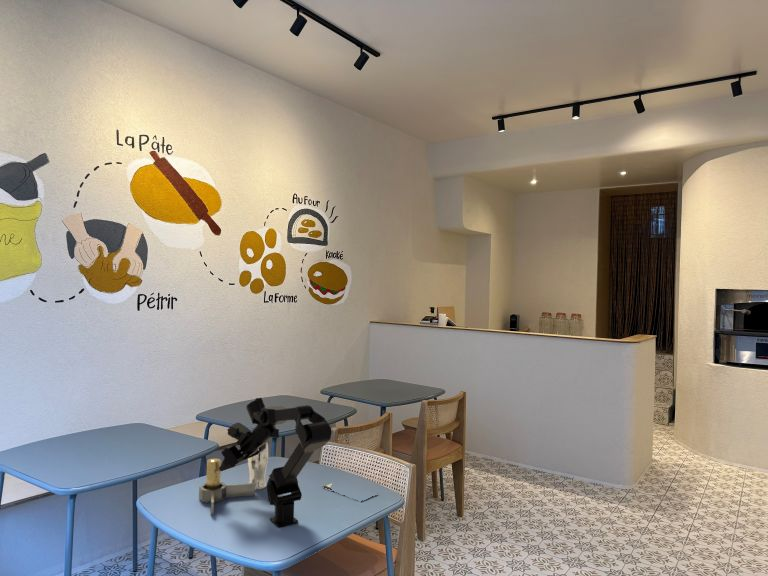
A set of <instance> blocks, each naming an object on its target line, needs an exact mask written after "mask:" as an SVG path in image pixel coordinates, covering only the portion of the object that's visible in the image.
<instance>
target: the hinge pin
mask: <svg viewBox="0 0 768 576" xmlns="http://www.w3.org/2000/svg"><path fill="white" fill-rule="evenodd" d="M221 464H222V460H221V458H209V459H207V460H206V480H205V481H206V482H205V483H206V489H209V490H214V489H219V488H220V482H221V472H222V471H220V470H219V468H220V466H221Z"/></svg>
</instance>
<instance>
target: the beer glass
mask: <svg viewBox="0 0 768 576" xmlns="http://www.w3.org/2000/svg"><path fill="white" fill-rule="evenodd" d="M265 444H266V449H264V450H263V451H262V452H261V453H259V454H257V455H255V456H253V457H251V458H248V459H247V464H248V472H249V473H248V474H249V481H248V483H255V491H257V490H263V489H265V488H267V482H266V473H267V472H266V471H267V466H268V461H269V443H268V442H267V441H266V443H265ZM258 451H259V449H258Z"/></svg>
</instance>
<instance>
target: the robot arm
mask: <svg viewBox="0 0 768 576" xmlns="http://www.w3.org/2000/svg"><path fill="white" fill-rule="evenodd" d="M246 411H247V413H248V416H249V419H250V421H251V424H252V425H254V424H255V427H253V429H249V427H247V426H246V425H243V424H242V423H241V422H235V423H233V424H231V425H230V426H229V428H227V435H228V436H229V437H231V438H232V439H234V440H237V441H236V444H237V445H238V446H239V448H240V449H239V448H238V447H236V445H234V444H231V445H227V446H226V447H225V448H223V450H221V454H222V456H223V460H222V461H221V466H220V468H219V470H220V471H221V472H223V471H226V470H227V471H228V469H232V468H235V467H237V466H239V465H240V464H241V463H242V462H243V461H245V460H248V458H251V457H253V456H255V455H257V454H259V453H261V452H262V451H263V450H264V449H266V444H265V443H266V442H267V441H268V440H269V439H270V438H272V439H273V438H275V439H278V438H279V437H280V432H279V431H280V428H277V427H276V425H277V426H279V425H282V424H285V423H287V421H294V422H295V426H294V427H295V429H294V431H295V433H296V434H297V437H298V441H299V442H298V444H297V446H296V447H295V448H294V450H293V452H292V453H291V455H290V456H289V458H288V459H287V460H286V462H285V464H284V466H280V467H275V468H273V469H272V470H271V471H272V472H271V473H270V474H268V480H267V482H266V491H267V492H266V493H267V499H268V502H269V506H274V516H273V517H270V518H269V520H270V522H272V523H273V524H274V525H275V526H277V527H278V528H282V527H287V526H291V525H293V524H297V523H299V520H298V519H297V518H295V515H294V514H295V502H296V501H301V499H302V495H303V494H302V491H301V489H300V486H299V481H298V478H297V477H298V476H299V474H300V473H301V471H302V470H303V469H304V467H305V466H306V464H307V463H308V461H309V459H310V458H311V456H312V455H313V454H314V453H315V451H317V450H318V449H320V448H322V447H324V446H325V445H326V444H327V443H329V441H330V440H331V438H332V431H333V430H332V428H331V426H330V425H329V422H328V421H327V420H326V419H325V417H324V416H322V415H321V414H319V413H318V412H316V411H315V410H314V408H313V407H312V406H311V405H308V404H305V405H298V406H297V405H296V406H295V407H294V406H293V407H287V408H286V407H285V406H282V405H273V406H267V407H266V404H265V403H264V400H263V399H262V397H256V398H255V400H252V401H250V402H249V403H248V404H247V405H246ZM303 420H308V421H309V422H310V423H306V424H303V423H302V421H303ZM258 449H259V451H258Z"/></svg>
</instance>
